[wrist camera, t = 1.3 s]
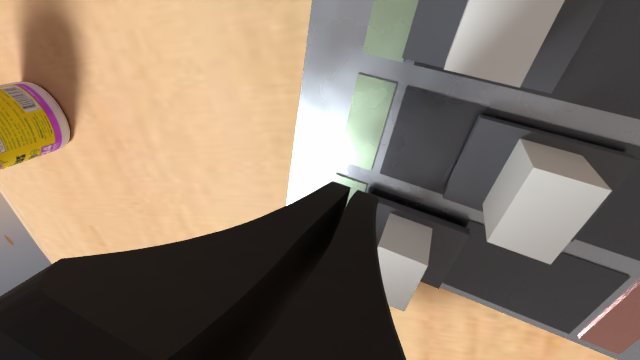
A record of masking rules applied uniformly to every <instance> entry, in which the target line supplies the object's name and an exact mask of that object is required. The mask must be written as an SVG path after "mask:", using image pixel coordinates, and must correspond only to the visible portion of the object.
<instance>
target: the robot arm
mask: <svg viewBox="0 0 640 360" xmlns="http://www.w3.org/2000/svg"><path fill="white" fill-rule="evenodd" d="M350 189H351V187H349V186H346V185H343V184H340V183H337V182H334V181H332V182H330V183H328V184H326V185H324V186H322V187H320V188H319V189H317V190H315V191H313V192H312V193H310V194H308V195H306V196H304V197H302V198H300V199H298V200H296V201H294V202H292V203H291V204H289V205H287V206H285V207H282V208H280V209H278V210H276V211H273V212H271V213H269V214H267V215H264V216H262V217H260V218H257V219H255V220H252V221H250V222H247V223H244V224H241V225H238V226H235V227H232V228H229V229H226V230H223V231H219V232H215V233H211V234H207V235H204V236H200V237H196V238H192V239H188V240H184V241H180V242H175V243H170V244H165V245H160V246H154V247H148V248H143V249H137V250H130V251H124V252H116V253H108V254H99V255H91V256H83V257H74V258H64V259H60V260H58V261H57V262H55V263H53V264H52V265H50V266H49V267H47V268H45V269H44V270H42V271H41V272H39V273H37V274H36V275H34V276H33V277H31V278H29V279H28V280H26V281H25V282H23V283H21V284H20V285H18V286H16V287H15V288H13V289H12V290H10V291H8V292H7V293H5V294H4V295H2V296H1V297H0V360H406V358H405V355H404V352H403V349H402V346H401V343H400V341H399V338H398V335H397V332H396V329H395V326H394V323H393V320H392V316H391V313H390V309H389V306H388V302H387V298H386V294H385V290H384V285H383V281H382V276H381V270H380V264H379V258H378V250H377V239H376V210H377V205H378V202H379V200H378V198H377V196H374V195H371V194H368V193H365V192H363V191H360V190H357V191H356V192H355V193H354V194H353V196H352V197H351V198H350V200H349V202H348V204H347V201H348V197H349V193H350ZM346 205H347V206H346ZM345 208H346V209H345Z"/></svg>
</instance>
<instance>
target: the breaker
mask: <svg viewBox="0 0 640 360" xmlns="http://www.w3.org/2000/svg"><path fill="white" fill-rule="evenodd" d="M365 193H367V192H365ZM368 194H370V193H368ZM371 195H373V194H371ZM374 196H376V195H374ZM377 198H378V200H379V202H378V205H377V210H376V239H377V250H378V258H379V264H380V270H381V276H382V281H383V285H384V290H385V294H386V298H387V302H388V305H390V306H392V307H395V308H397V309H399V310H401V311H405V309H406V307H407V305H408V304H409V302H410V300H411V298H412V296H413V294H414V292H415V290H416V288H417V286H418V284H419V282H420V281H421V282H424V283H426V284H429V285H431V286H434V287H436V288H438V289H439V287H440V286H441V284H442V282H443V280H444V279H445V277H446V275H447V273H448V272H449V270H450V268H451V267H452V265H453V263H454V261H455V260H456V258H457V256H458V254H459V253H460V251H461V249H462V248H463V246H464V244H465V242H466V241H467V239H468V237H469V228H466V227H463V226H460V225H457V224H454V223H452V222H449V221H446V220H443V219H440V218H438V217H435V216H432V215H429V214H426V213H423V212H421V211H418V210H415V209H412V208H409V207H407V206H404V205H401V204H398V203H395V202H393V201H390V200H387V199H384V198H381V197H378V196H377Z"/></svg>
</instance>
